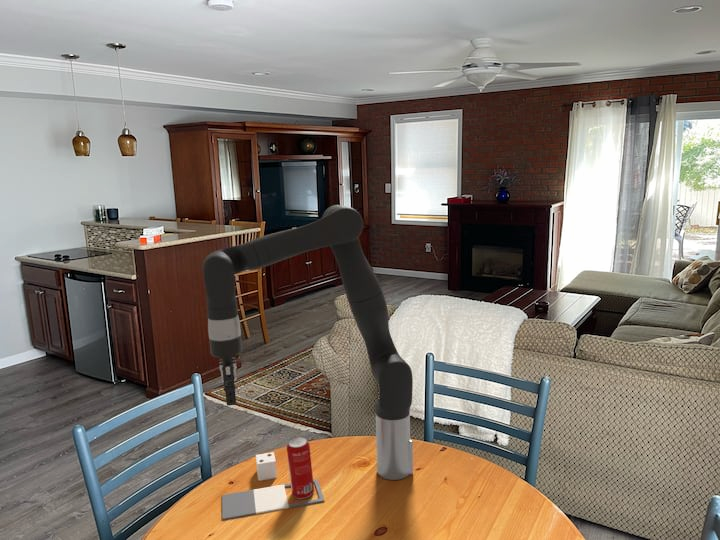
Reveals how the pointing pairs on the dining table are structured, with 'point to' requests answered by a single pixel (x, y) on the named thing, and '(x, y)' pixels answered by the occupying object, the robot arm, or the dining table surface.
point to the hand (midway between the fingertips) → (231, 397)
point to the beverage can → (300, 467)
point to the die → (266, 466)
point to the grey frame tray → (261, 501)
